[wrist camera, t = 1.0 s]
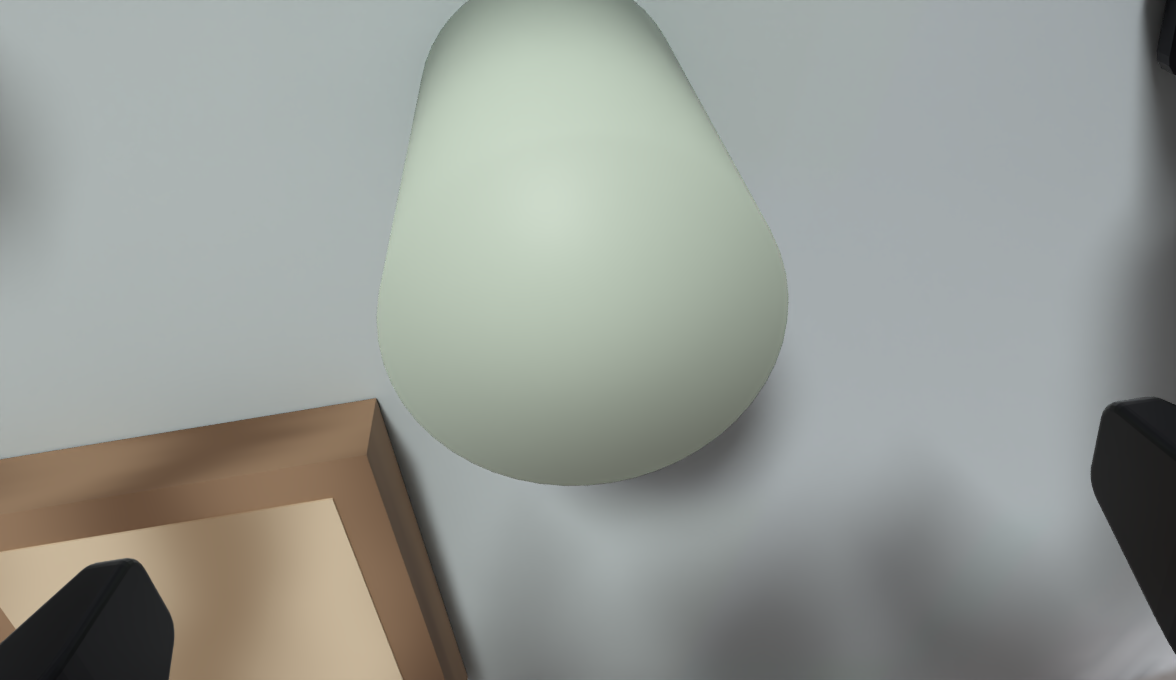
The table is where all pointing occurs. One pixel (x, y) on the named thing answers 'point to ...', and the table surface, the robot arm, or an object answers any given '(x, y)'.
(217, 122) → the table surface
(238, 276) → the table surface
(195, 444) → the plinth
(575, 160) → the sage capsule
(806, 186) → the table surface
